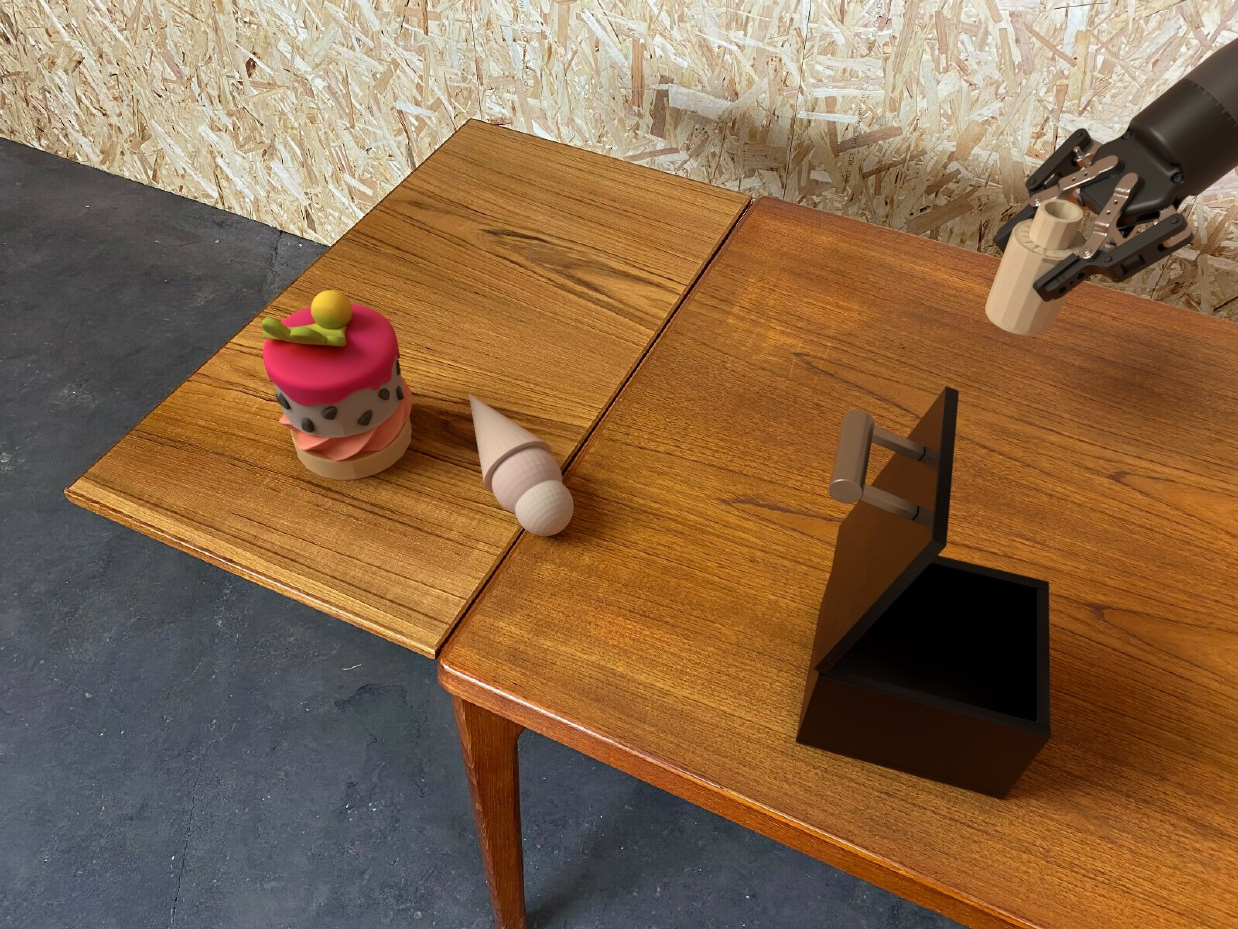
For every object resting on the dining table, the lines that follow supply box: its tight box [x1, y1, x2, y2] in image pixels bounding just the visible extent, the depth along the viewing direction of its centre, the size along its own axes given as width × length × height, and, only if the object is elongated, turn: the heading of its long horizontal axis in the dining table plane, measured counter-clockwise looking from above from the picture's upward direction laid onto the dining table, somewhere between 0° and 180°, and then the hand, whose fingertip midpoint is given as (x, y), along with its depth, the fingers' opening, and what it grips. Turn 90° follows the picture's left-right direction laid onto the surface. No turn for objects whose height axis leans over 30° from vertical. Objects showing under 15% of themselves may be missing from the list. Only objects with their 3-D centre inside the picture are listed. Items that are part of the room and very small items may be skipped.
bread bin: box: [795, 554, 1052, 800], centre depth 64 cm, size 14×12×9 cm
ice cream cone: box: [468, 393, 575, 537], centre depth 77 cm, size 6×6×15 cm
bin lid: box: [814, 385, 960, 674], centre depth 56 cm, size 14×12×6 cm
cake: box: [261, 289, 413, 481], centre depth 77 cm, size 10×11×15 cm
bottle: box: [984, 199, 1087, 337], centre depth 76 cm, size 6×6×10 cm
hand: (1018, 270), depth 76 cm, fingers closed on bottle, 5 cm apart
